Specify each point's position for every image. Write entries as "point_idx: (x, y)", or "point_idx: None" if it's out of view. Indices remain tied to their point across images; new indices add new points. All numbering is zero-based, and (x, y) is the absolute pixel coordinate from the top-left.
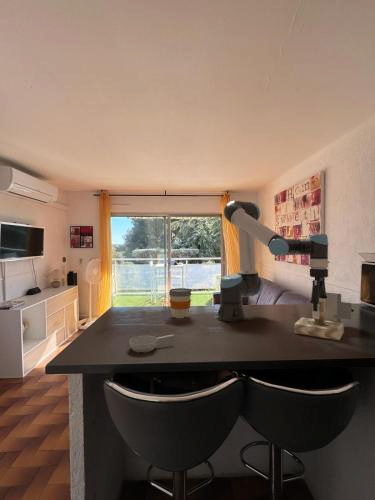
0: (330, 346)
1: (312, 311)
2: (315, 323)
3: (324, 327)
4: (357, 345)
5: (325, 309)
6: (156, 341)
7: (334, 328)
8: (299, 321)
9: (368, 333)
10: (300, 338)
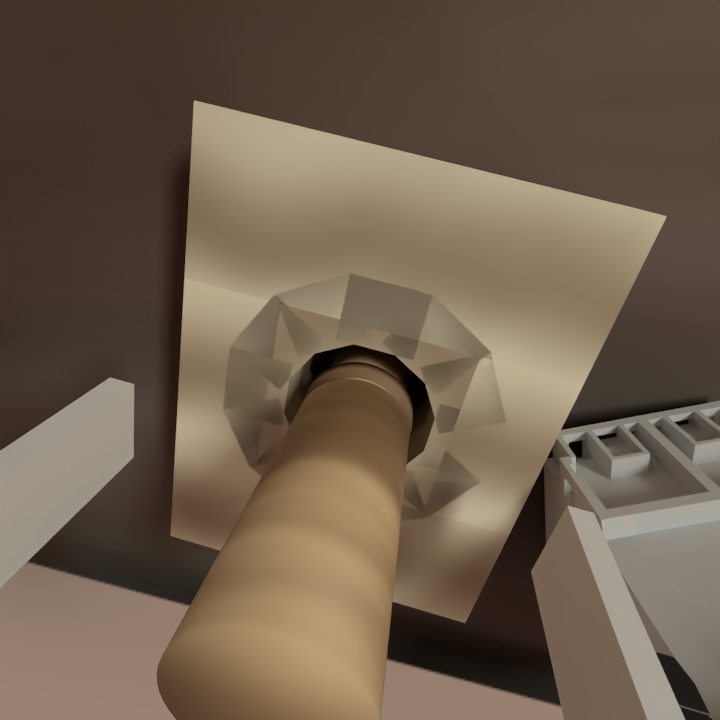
0: (44, 405)
1: (31, 435)
2: (319, 378)
3: (213, 444)
4: (162, 552)
5: (642, 621)
6: None
7: (222, 516)
8: (367, 176)
9: (466, 673)
10: (93, 189)
